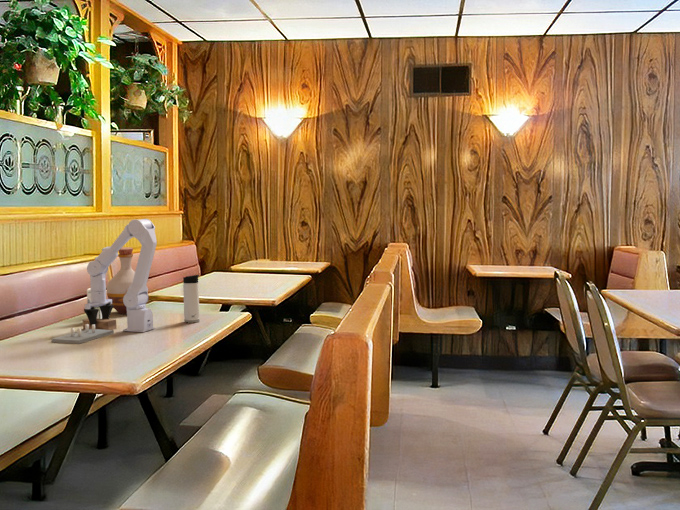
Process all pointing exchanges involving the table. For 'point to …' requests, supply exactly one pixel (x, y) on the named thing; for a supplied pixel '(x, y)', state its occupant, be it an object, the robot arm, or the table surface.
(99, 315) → the syrup box
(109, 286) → the jug
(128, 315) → the robot arm
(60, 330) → the table surface
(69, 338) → the peg plate
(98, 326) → the copper brown rectangular block
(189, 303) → the travel mug
